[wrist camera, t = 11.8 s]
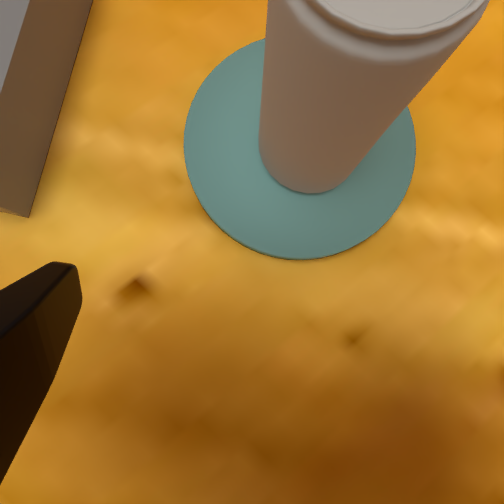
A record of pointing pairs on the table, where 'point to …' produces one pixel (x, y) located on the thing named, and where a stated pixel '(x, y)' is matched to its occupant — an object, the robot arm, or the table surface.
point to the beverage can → (347, 78)
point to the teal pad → (268, 188)
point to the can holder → (33, 88)
